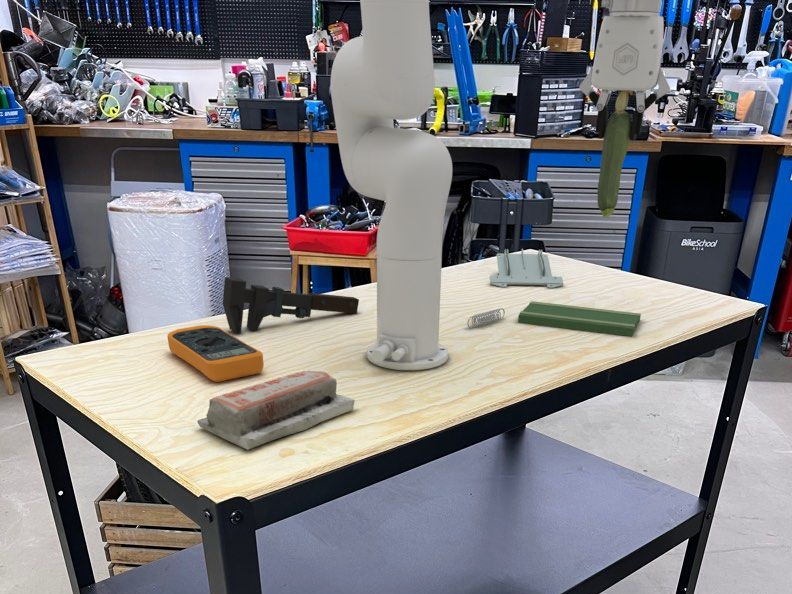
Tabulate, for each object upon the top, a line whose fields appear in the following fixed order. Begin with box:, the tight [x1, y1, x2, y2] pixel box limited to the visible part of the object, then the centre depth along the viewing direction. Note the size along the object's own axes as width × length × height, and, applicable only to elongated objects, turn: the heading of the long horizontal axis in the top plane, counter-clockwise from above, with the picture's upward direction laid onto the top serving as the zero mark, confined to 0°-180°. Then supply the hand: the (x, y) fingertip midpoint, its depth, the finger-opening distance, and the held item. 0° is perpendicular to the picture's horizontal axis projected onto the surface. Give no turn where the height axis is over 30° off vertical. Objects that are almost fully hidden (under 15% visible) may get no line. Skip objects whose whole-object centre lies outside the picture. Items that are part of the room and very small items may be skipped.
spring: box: [466, 307, 506, 329], centre depth 140 cm, size 10×2×2 cm, turn 134°
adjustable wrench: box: [222, 276, 360, 334], centre depth 138 cm, size 8×3×25 cm
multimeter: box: [167, 324, 264, 383], centre depth 119 cm, size 9×18×3 cm, turn 36°
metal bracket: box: [489, 248, 564, 289], centre depth 168 cm, size 14×6×15 cm
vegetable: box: [596, 90, 634, 218], centre depth 132 cm, size 4×4×20 cm
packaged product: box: [197, 370, 356, 451], centre depth 101 cm, size 18×5×10 cm
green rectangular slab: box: [517, 300, 642, 337], centre depth 142 cm, size 10×20×2 cm, turn 69°
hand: (617, 137), depth 131 cm, fingers closed on vegetable, 4 cm apart
